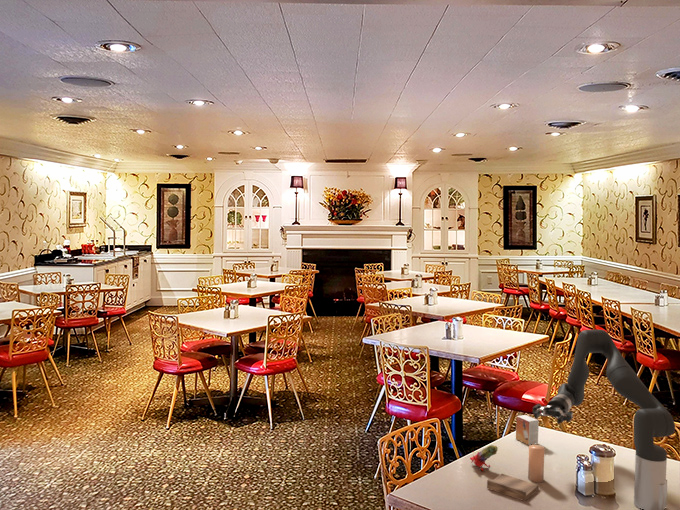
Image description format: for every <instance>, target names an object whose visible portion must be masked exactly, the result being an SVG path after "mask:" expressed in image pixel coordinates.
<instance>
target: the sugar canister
mask: <svg viewBox="0 0 680 510" xmlns="http://www.w3.org/2000/svg"><path fill="white" fill-rule="evenodd" d="M545 448H546V447H544V446H542V445H538V444H532V445H528V464H527V465H528V467H527V469H528V470H527V472H528V473H527V479H528V480H529V482H530V481H531V482H532V483H533V482H534V483H543V482H544V479H545V478H544V477H545V476H544V475H545Z"/></svg>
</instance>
